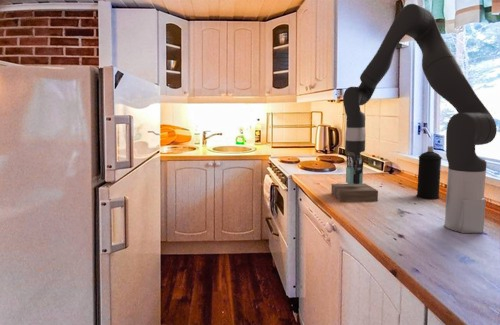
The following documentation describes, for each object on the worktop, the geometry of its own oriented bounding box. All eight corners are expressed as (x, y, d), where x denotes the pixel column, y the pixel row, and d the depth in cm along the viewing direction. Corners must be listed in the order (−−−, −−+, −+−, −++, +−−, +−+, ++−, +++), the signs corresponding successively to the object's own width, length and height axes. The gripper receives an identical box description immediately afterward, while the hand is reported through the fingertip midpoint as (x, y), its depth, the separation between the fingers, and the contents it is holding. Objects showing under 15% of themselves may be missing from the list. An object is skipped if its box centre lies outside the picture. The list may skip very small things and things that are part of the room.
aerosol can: (426, 200, 138) (429, 147, 135) (411, 195, 146) (414, 145, 143) (444, 198, 140) (447, 146, 138) (428, 193, 148) (431, 145, 145)
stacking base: (377, 201, 138) (378, 190, 137) (341, 201, 137) (341, 191, 136) (364, 192, 151) (364, 183, 151) (331, 193, 151) (331, 184, 150)
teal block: (362, 184, 141) (362, 169, 140) (349, 184, 141) (350, 169, 140) (358, 181, 146) (358, 167, 145) (345, 182, 146) (346, 167, 145)
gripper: (371, 140, 134) (370, 185, 136) (358, 137, 148) (357, 178, 151) (351, 140, 134) (350, 186, 136) (340, 138, 148) (339, 179, 150)
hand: (354, 182), depth 143 cm, fingers closed on teal block, 5 cm apart
